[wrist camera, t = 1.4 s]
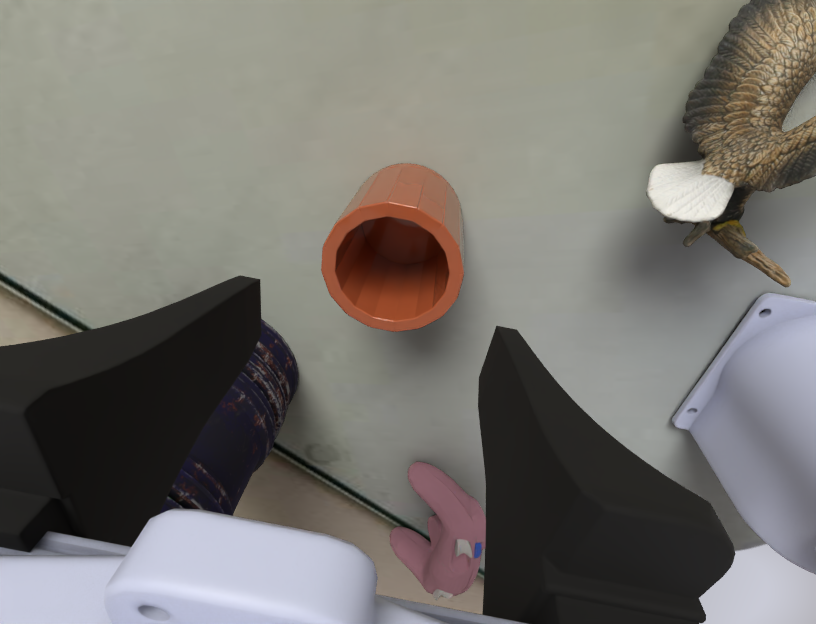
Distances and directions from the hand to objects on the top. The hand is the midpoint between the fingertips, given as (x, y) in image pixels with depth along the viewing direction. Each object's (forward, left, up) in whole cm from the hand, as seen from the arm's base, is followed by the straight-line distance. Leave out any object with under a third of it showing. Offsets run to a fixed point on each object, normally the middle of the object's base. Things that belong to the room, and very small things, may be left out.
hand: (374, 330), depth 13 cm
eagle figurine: (+7, -13, -10) cm, 18 cm away
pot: (0, 0, -10) cm, 10 cm away
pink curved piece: (-22, -6, -10) cm, 25 cm away
